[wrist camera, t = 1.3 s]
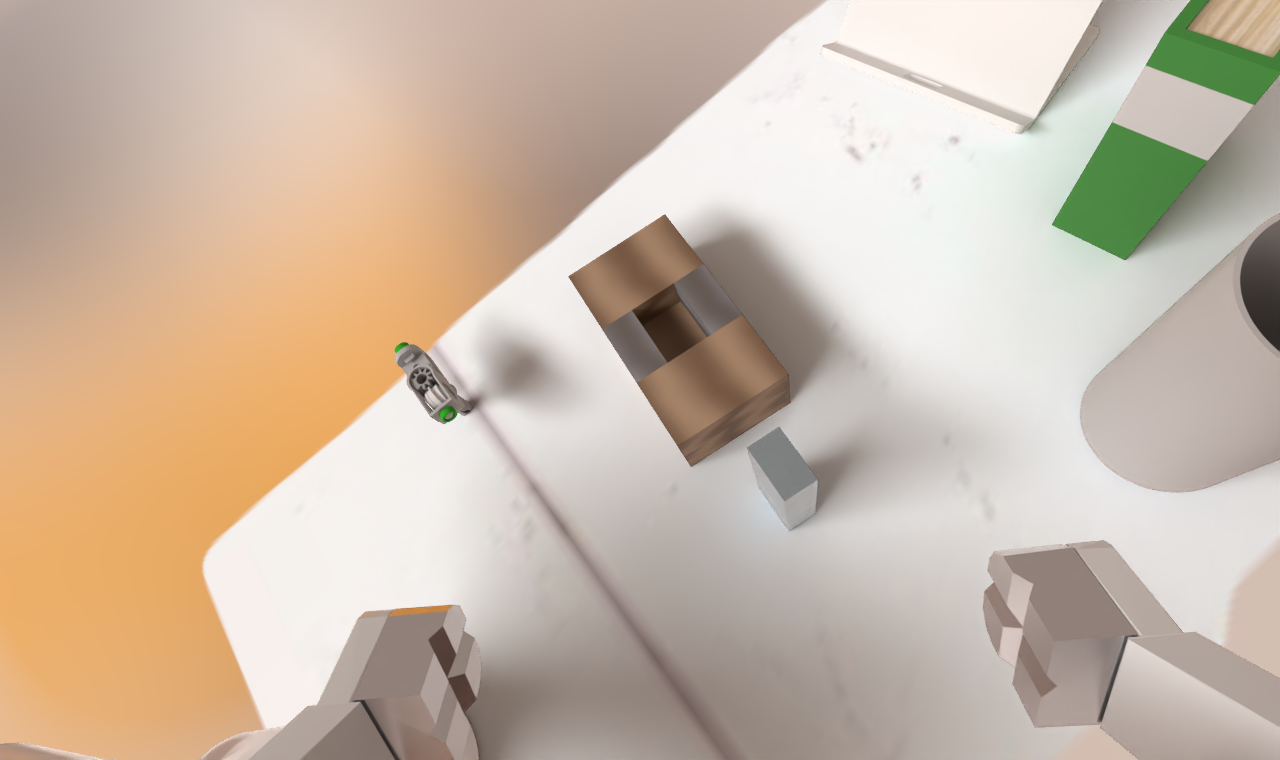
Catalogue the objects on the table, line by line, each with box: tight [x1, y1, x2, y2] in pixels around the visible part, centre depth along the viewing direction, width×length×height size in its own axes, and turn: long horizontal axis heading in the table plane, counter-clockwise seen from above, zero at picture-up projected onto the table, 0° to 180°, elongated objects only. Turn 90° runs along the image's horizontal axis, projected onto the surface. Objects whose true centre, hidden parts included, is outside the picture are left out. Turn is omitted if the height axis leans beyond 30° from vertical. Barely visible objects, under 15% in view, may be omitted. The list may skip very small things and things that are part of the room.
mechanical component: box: [395, 342, 472, 424], centre depth 72 cm, size 3×10×10 cm, turn 38°
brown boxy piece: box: [568, 215, 790, 466], centre depth 70 cm, size 12×22×8 cm, turn 30°
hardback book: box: [1052, 0, 1280, 260], centre depth 58 cm, size 18×7×24 cm, turn 138°
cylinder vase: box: [1080, 213, 1280, 492], centre depth 49 cm, size 12×12×25 cm
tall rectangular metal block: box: [747, 427, 818, 531], centre depth 58 cm, size 3×5×15 cm, turn 30°
